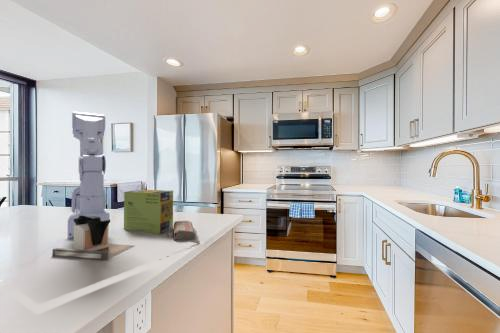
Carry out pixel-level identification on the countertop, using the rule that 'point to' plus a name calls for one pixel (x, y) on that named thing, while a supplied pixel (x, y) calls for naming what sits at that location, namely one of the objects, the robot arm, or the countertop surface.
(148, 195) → the protein box
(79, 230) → the carton
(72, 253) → the shelf
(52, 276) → the countertop surface
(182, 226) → the packaged product
